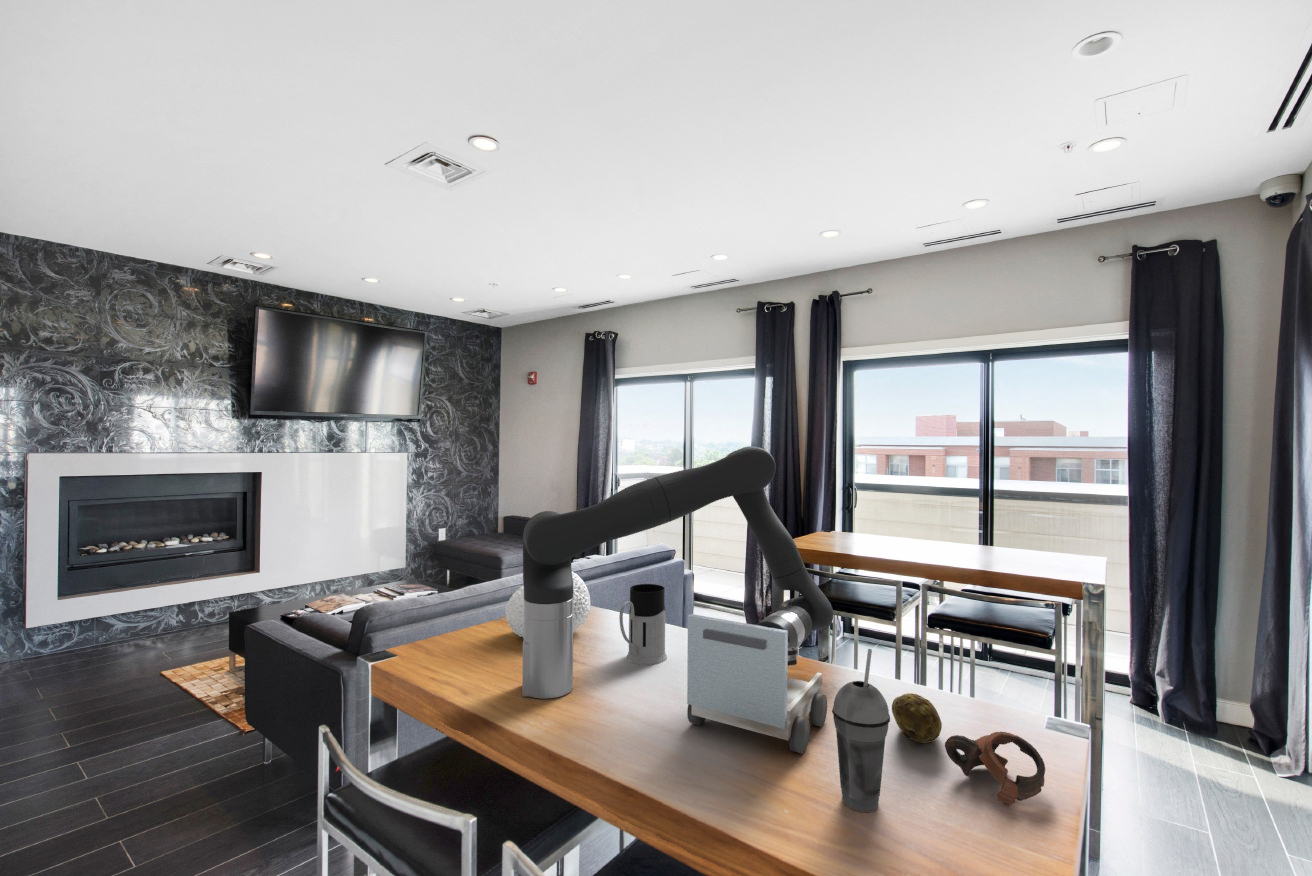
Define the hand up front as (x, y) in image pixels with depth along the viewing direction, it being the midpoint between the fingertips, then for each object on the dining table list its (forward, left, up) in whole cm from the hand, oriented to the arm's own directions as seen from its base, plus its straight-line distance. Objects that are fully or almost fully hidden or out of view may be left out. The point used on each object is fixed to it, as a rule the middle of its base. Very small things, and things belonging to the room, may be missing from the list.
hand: (740, 666), depth 95 cm
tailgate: (-1, -1, -7) cm, 7 cm away
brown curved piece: (+31, -16, -12) cm, 37 cm away
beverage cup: (+11, -17, -12) cm, 24 cm away
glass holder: (-11, +37, -12) cm, 40 cm away
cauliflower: (-30, +56, -12) cm, 64 cm away
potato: (+28, -3, -12) cm, 31 cm away
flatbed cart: (+5, +6, -12) cm, 14 cm away
